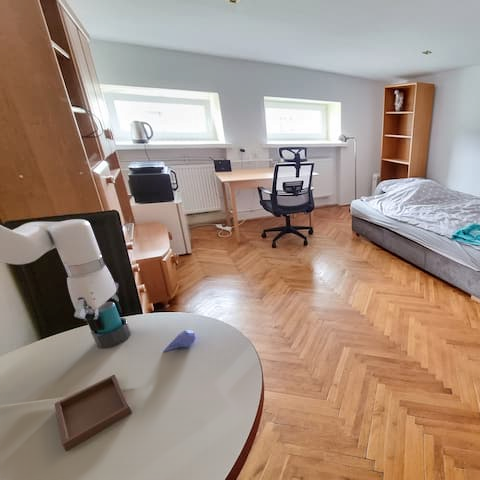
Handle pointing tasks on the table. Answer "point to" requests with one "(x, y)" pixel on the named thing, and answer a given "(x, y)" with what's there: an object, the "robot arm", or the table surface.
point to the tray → (90, 411)
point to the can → (108, 317)
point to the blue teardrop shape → (182, 340)
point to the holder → (112, 336)
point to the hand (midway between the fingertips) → (107, 320)
